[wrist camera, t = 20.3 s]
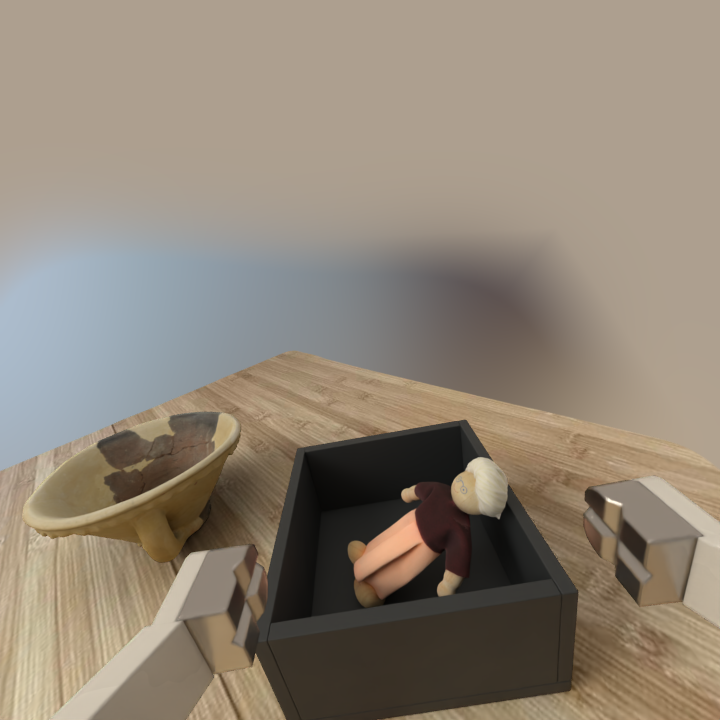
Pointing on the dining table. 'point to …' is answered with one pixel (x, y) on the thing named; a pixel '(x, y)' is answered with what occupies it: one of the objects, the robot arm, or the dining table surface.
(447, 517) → the grandmother figurine
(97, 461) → the bowl
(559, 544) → the dining table surface
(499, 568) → the open square box
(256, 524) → the dining table surface
